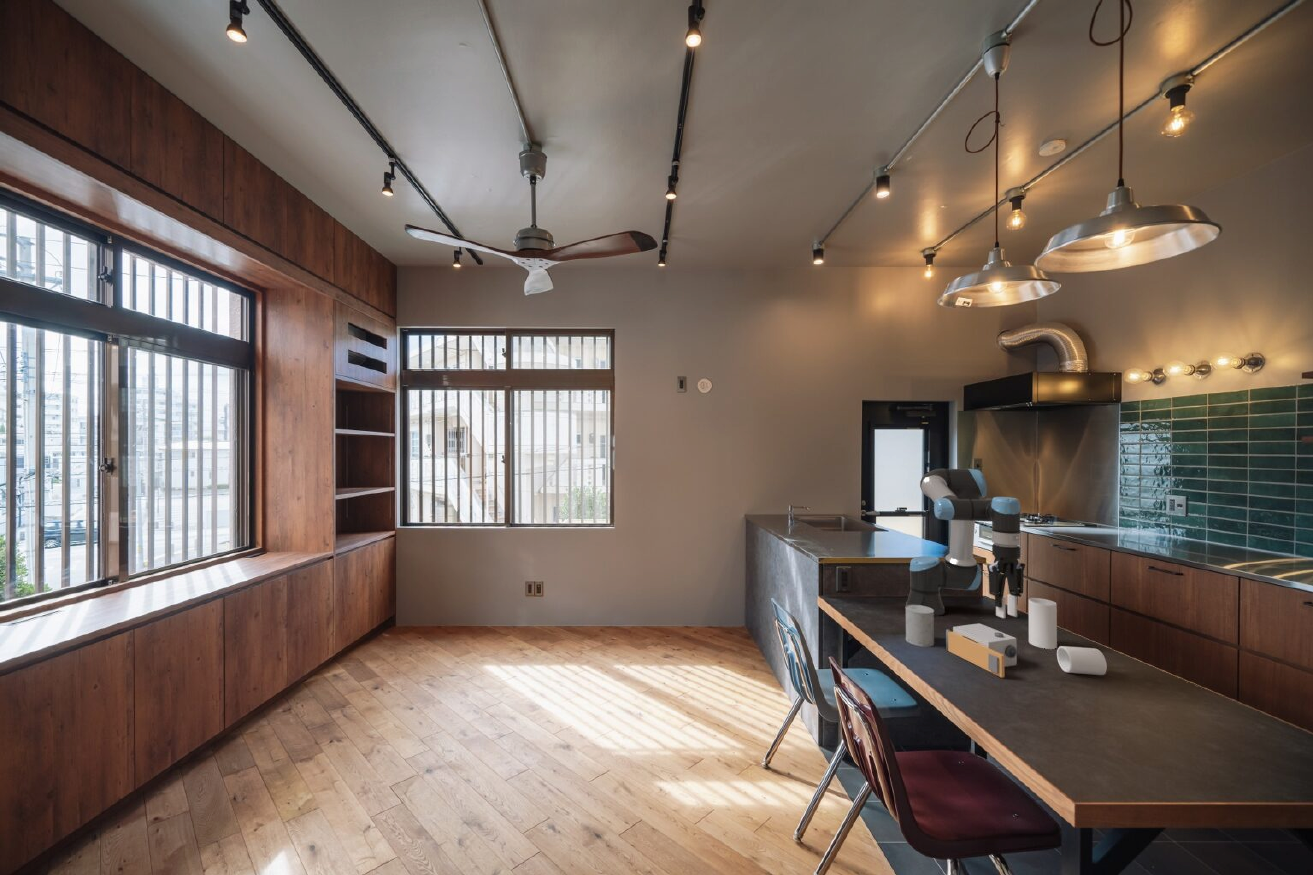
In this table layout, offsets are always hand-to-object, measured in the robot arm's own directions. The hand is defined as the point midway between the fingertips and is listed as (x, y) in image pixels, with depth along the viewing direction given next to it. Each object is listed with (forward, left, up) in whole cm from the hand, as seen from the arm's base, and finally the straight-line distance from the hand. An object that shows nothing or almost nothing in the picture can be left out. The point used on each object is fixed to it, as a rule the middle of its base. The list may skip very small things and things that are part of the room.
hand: (1006, 615), depth 161 cm
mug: (+4, +25, -19) cm, 31 cm away
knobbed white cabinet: (-11, +3, -19) cm, 22 cm away
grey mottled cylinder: (-28, -8, -19) cm, 35 cm away
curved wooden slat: (-8, -5, -18) cm, 21 cm away
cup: (-14, +34, -19) cm, 41 cm away
